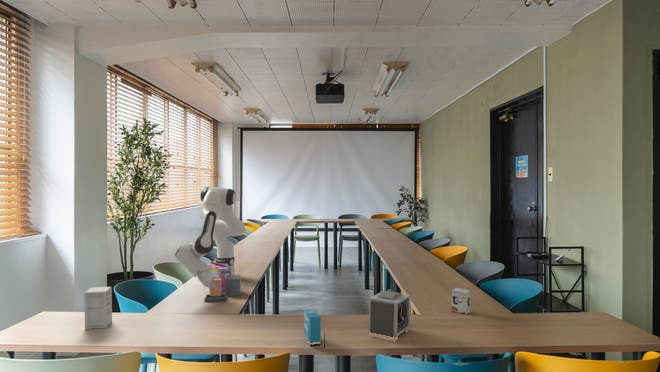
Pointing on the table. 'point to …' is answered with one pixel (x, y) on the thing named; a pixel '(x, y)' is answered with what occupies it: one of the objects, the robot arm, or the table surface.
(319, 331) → the data package
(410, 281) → the table surface
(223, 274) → the gum box
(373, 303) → the alarm clock
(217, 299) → the tray
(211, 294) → the salmon pink tall block
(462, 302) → the ink box
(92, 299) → the supplement box
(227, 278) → the dispenser
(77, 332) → the table surface
